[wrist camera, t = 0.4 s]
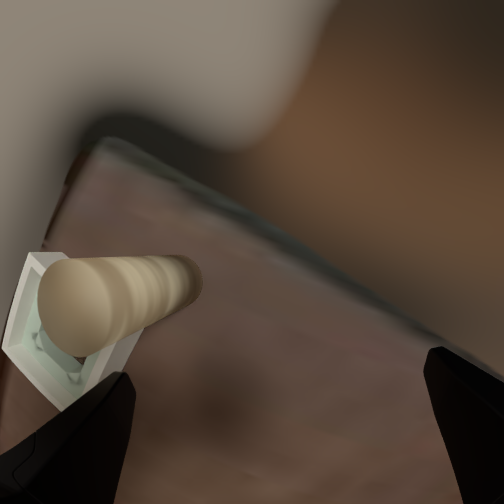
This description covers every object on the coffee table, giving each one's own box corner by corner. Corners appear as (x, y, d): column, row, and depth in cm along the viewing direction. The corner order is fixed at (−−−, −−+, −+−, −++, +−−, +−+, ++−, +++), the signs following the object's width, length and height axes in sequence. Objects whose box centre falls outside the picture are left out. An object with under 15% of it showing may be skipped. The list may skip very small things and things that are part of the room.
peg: (178, 317, 24) (77, 374, 11) (144, 279, 24) (25, 302, 11) (213, 282, 24) (127, 315, 11) (177, 243, 24) (67, 237, 11)
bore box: (103, 407, 25) (78, 427, 20) (31, 338, 26) (1, 348, 22) (147, 322, 24) (119, 335, 20) (62, 252, 25) (29, 252, 21)
